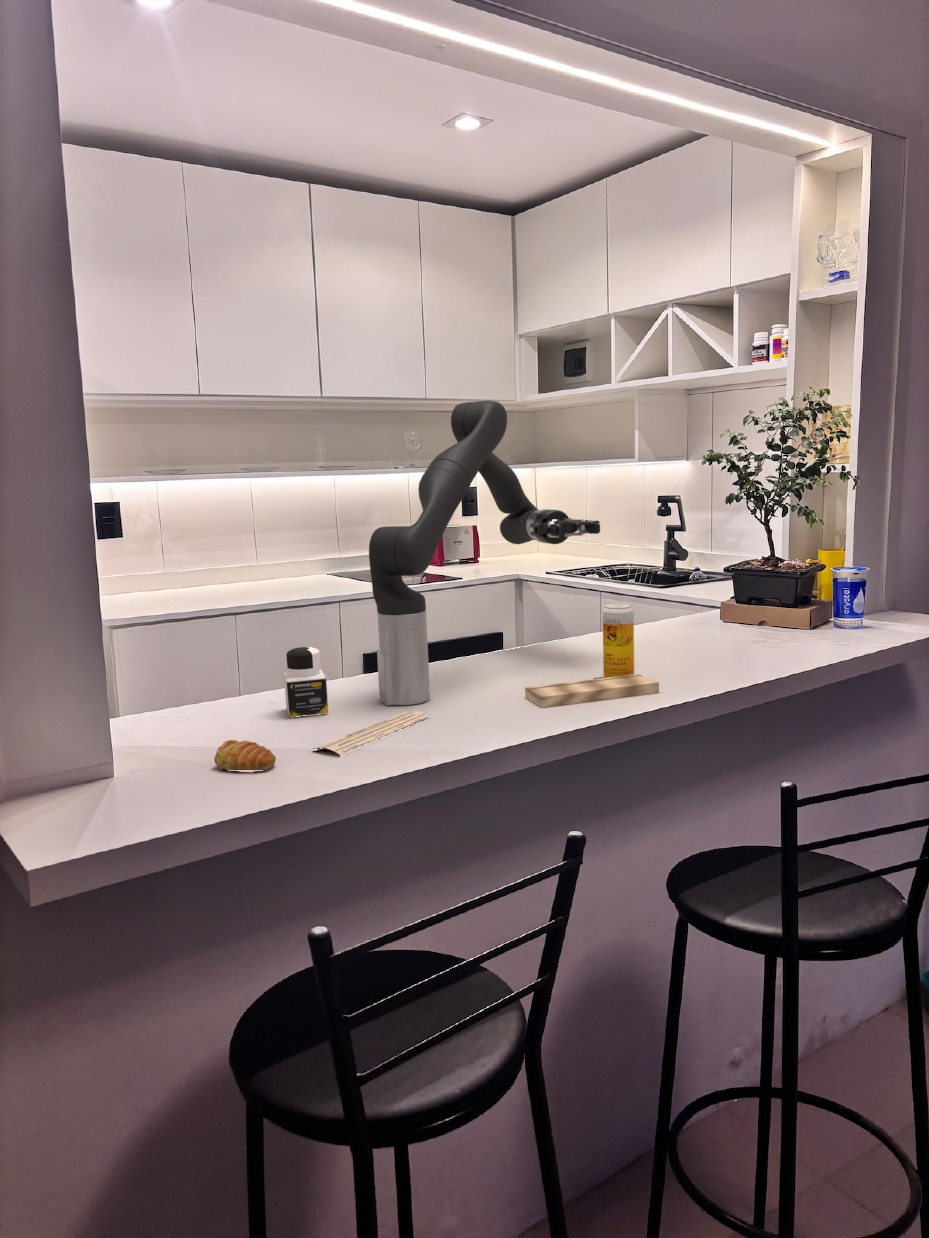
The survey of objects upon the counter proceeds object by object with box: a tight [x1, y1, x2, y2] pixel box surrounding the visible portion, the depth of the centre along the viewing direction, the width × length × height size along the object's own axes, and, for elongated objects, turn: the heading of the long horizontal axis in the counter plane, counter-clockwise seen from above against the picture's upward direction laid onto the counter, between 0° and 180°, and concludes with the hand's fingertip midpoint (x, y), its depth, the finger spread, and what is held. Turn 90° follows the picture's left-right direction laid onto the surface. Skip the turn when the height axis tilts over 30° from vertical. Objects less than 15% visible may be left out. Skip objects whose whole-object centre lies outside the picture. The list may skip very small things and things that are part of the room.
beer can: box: [602, 603, 635, 678], centre depth 177 cm, size 6×6×15 cm
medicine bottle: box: [283, 646, 329, 717], centre depth 164 cm, size 7×7×12 cm
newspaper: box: [313, 710, 430, 755], centre depth 149 cm, size 24×7×2 cm, turn 146°
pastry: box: [213, 739, 277, 771], centre depth 134 cm, size 9×7×4 cm
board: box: [524, 673, 660, 708], centre depth 168 cm, size 24×8×2 cm, turn 108°
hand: (579, 529), depth 183 cm, fingers open, 8 cm apart
